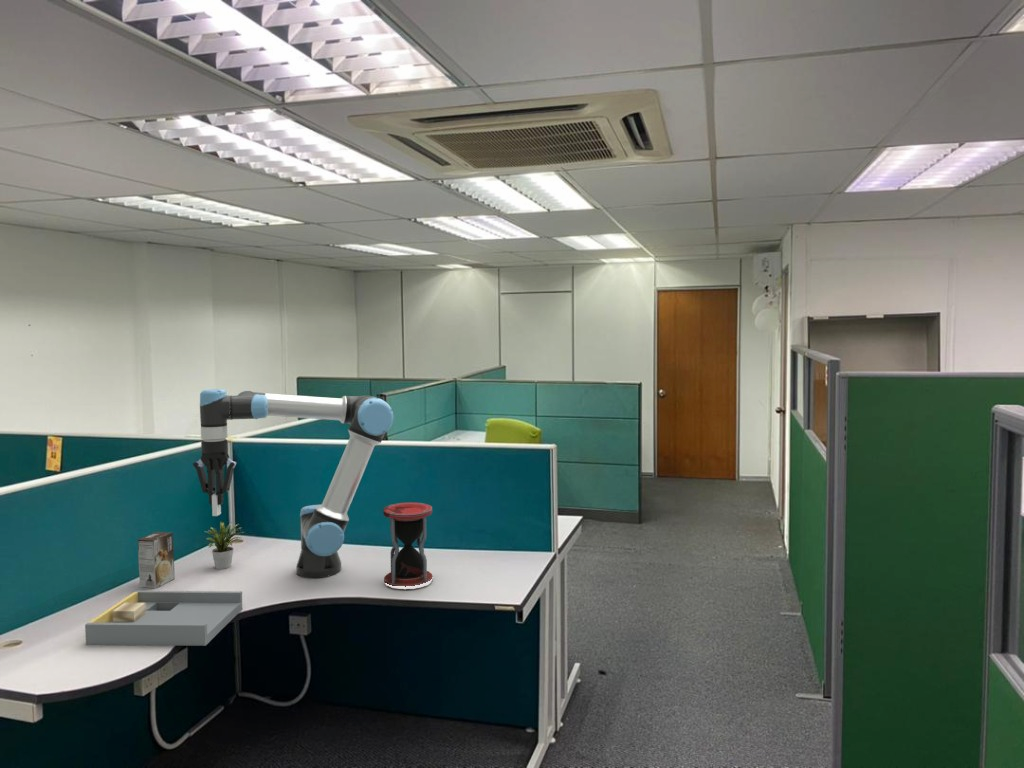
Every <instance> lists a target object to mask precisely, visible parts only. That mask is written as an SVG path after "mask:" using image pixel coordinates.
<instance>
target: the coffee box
mask: <svg viewBox="0 0 1024 768" xmlns="http://www.w3.org/2000/svg"><path fill="white" fill-rule="evenodd" d="M173 534H174V532H169V531H168V532H167V531H166V532H165V531H156V532H153V533H150V534H148V535H145V536H143V537H141V538H138V539H137V551H138V552H137V555H138V574H139V588H148V589H158V588H159V587H161V586H163V585H165V584H167V583H170V582H171V581H173V580H175V577H176V576H175V555H174V554H175V553H174V552H175V550H174V535H173Z"/></svg>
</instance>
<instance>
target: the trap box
mask: <svg viewBox="0 0 1024 768" xmlns="http://www.w3.org/2000/svg"><path fill="white" fill-rule="evenodd" d="M124 603H146V613H145V614H144V615H143V616H141V617H140V618H139V619H137V620H136V621H135V622H113V614H112V611H113V610H115V609H116V608H118V607H119V606H121V605H122V604H124ZM242 610H243V591H237V590H236V591H231V590H230V591H228V590H227V591H224V590H223V591H222V590H221V591H219V590H214V591H213V590H201V591H200V590H135V591H133V592H132V593H130V594H128V595H127V596H126V597H124V598H122V599H121V600H119V601H118V602H117V603H115V604H114V605H112V606H110V608H108V609H106V610H105V611H103V612H102V613H100V614H99V615H97V616H96V617H94V618H93V619H91V620H89V621H88V622H86V623H85V624H84V628H85V629H84V630H85V631H84V632H85V645H87V646H89V645H91V646H92V645H94V646H95V645H98V646H99V645H100V646H101V645H102V646H106V645H107V646H111V645H112V646H190V647H191V646H194V647H195V646H196V647H197V646H198V647H199V646H203V647H204V646H205V647H206V646H207V645H208V644H209V643H210V642H211V641H212V640H213V639H214V638H215V637H216V636H217V635H218V634H219V633H220V632H221V631H222V630H223V629H224V628H226V626H227V625H228V624H229V623H230V622H231V621H232V620H233V619H234V618H235V617H236V616H238V614H239V613H240V612H241V611H242Z"/></svg>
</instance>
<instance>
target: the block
mask: <svg viewBox="0 0 1024 768" xmlns="http://www.w3.org/2000/svg"><path fill="white" fill-rule="evenodd" d="M145 613H146V603H124V604H122V605H121V606H119V607H118V608H116V609H115V610H113V611H112V614H113V622H135V621H136V620H137V619H139V618H140V617H141V616H143V615H144V614H145Z"/></svg>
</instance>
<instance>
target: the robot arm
mask: <svg viewBox="0 0 1024 768" xmlns="http://www.w3.org/2000/svg"><path fill="white" fill-rule="evenodd" d="M199 415H200V416H199V417H200V418H199V419H200V439H201V440H202V441H200V449H201V454H200V455H201V456H200V457H199V458H200V459H198V461H195V462H193V463H192V466H193V467H194V468H195V470H196V473H197V477H198V481H199V483H200V487H201V492H202V493H206V494H207V495H208V504H209V505H211V510H212V512H211V513H212V514H211V515H212V517H218V516H220V515H221V514H222V506H221V505H223V504H224V494H225V493H228V492H229V491H230V488H231V485H232V478H233V474H234V472H235V471H234V470H235V468H236V466H237V464H238V462H237V461H235V460H234V461H233V460H232V459H231V458H230V455H229V454H228V453H229V443H228V439H227V438H228V421H229V420H230V421H231V420H253V419H254V420H258V419H266V418H267V417H282V418H283V417H285V418H296V419H297V418H299V419H312V420H313V419H315V420H330V421H339V422H340V423H341V424H345V425H346V424H349V427H348V429H347V431H348V434H349V439H348V441H347V444H346V446H345V449H344V451H343V454H342V456H341V458H340V459H339V462H338V463H339V464H338V465H337V467H336V470H335V472H334V475H333V477H332V480H331V482H330V484H329V486H328V489H327V491H326V494H325V497H324V498H323V501H322V503H321V504H312V505H311V504H310V505H306V506H304V507H303V506H302V508H301V509H300V514H299V517H300V538H301V539H300V546H301V547H300V553H299V557H298V560H297V563H296V566H295V567H296V569H295V570H296V575H297V576H299V575H300V577H302V578H308V577H318V578H325V577H324V576H326V577H329V576H328V575H330V576H333V575H335V573H336V574H338V573H339V572H340V571H341V570H342V561H341V557H340V555H339V552H338V551H339V550H340V549H341V548H342V546H343V544H344V540H345V531H346V528H347V526H348V524H349V521H350V518H349V516H348V511H349V509H350V506H351V504H352V502H353V498H354V497H355V495H356V492H357V489H358V488H359V484H360V482H361V480H362V477H363V475H364V473H365V470H366V468H367V466H368V464H369V463H368V462H369V460H370V458H371V456H372V453H373V451H374V448H375V446H377V445H380V444H381V443H382V441H383V439H384V436H385V434H386V433H387V432H388V431H389V430H390V428H392V425H393V423H394V420H395V419H394V412H393V409H392V407H391V406H390V404H389V403H388V402H386V401H385V400H383V399H382V398H378V397H376V396H374V395H359V396H358V395H356V396H355V395H354V396H353V395H351V396H350V395H343V396H342V397H340V398H339V397H338V398H337V397H323V396H311V395H299V394H298V395H295V394H283V393H270V392H267V393H266V392H265V393H264V392H254V391H251V390H245V391H241V392H239V393H238V394H237V395H230V394H229V395H228V394H227V391H226V389H221V388H219V389H217V388H216V389H215V388H210V389H203V390H202V391H200V393H199ZM204 466H205V467H204ZM225 466H227V468H226V472H225V477H224V470H225ZM205 468H206V469H205ZM205 470H206V471H205ZM206 473H207V474H206ZM337 572H338V573H337ZM332 574H333V575H332Z"/></svg>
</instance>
